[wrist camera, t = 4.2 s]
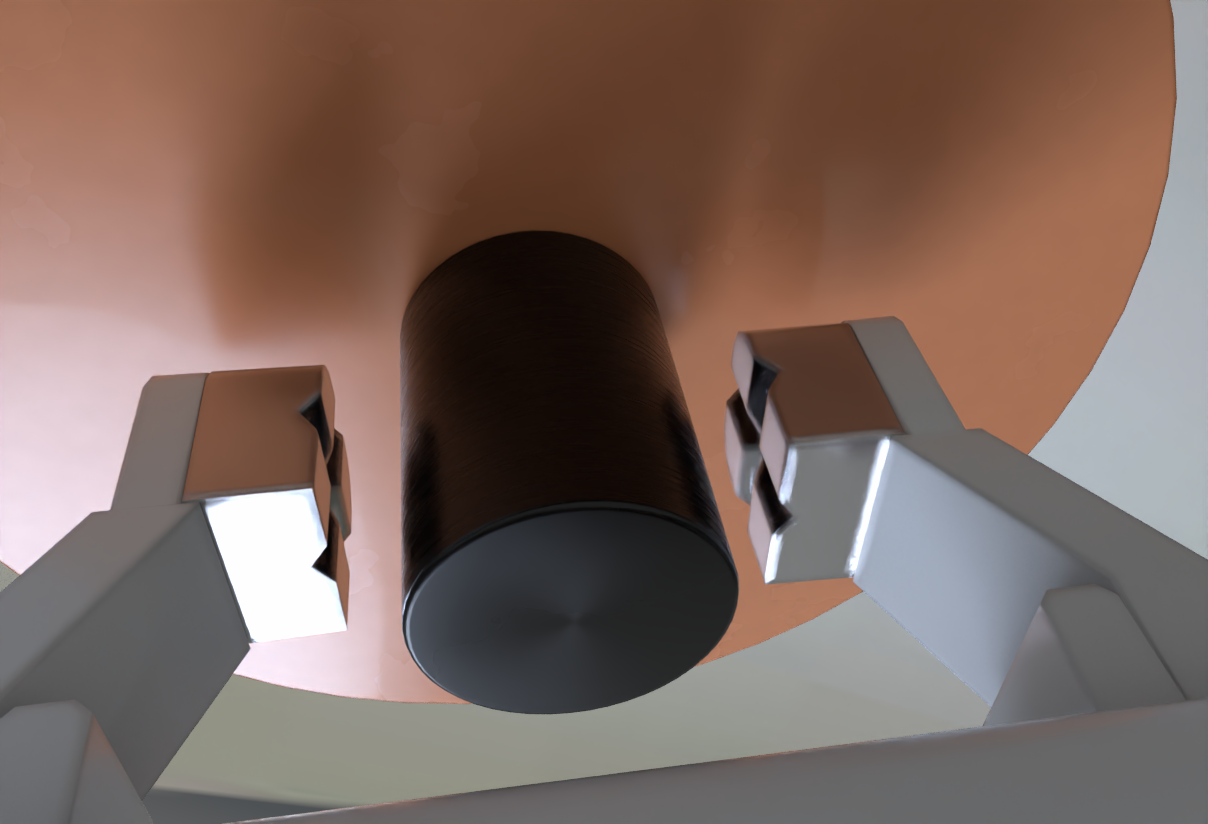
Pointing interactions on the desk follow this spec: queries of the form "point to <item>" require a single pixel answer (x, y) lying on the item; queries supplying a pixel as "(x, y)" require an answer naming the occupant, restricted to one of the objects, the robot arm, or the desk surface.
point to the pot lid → (551, 278)
